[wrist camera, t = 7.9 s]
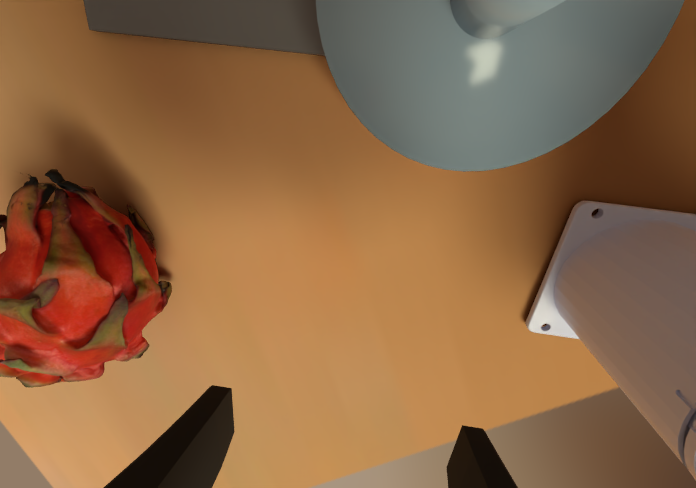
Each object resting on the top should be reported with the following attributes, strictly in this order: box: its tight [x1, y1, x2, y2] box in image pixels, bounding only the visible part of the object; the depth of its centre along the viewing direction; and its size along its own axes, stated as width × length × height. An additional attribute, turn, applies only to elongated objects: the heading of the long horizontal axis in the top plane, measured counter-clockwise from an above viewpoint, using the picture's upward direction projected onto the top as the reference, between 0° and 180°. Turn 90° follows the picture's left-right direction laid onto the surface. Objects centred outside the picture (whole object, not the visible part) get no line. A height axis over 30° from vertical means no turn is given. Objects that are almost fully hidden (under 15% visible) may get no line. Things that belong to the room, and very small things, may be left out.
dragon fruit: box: [0, 169, 172, 387], centre depth 17 cm, size 8×8×12 cm
